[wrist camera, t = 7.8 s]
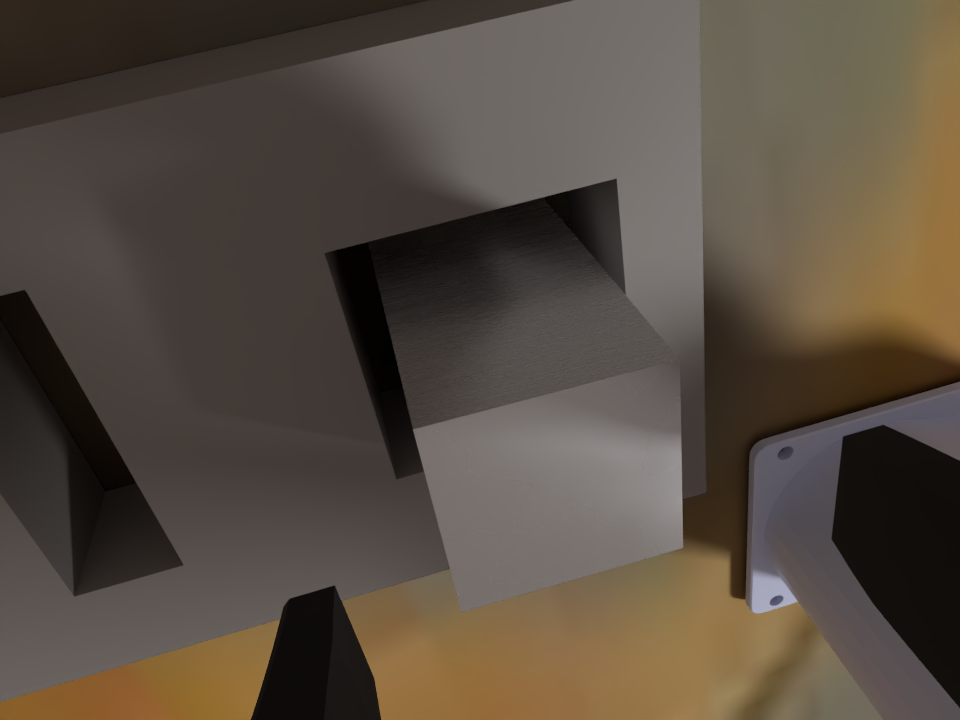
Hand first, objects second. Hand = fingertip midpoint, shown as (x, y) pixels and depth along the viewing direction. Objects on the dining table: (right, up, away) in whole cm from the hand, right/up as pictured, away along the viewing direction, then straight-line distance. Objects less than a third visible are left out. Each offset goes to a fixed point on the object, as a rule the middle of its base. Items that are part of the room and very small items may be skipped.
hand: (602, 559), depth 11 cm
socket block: (-6, +4, +8) cm, 11 cm away
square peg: (-2, +5, +8) cm, 10 cm away
